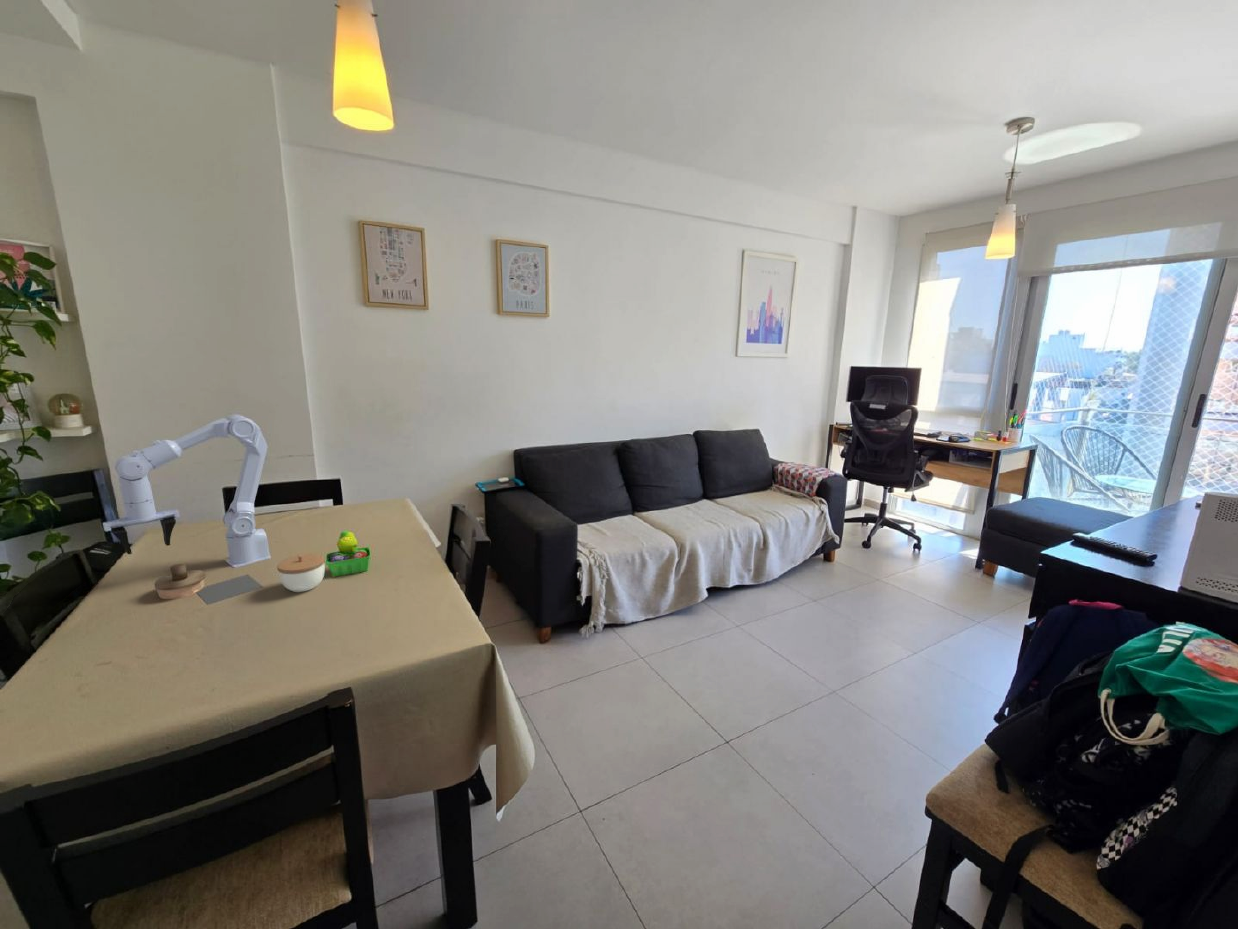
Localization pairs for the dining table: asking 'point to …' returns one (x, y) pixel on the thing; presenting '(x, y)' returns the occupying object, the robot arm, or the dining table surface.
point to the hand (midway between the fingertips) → (148, 548)
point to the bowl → (181, 591)
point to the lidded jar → (302, 572)
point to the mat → (228, 589)
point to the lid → (179, 578)
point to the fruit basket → (348, 556)
